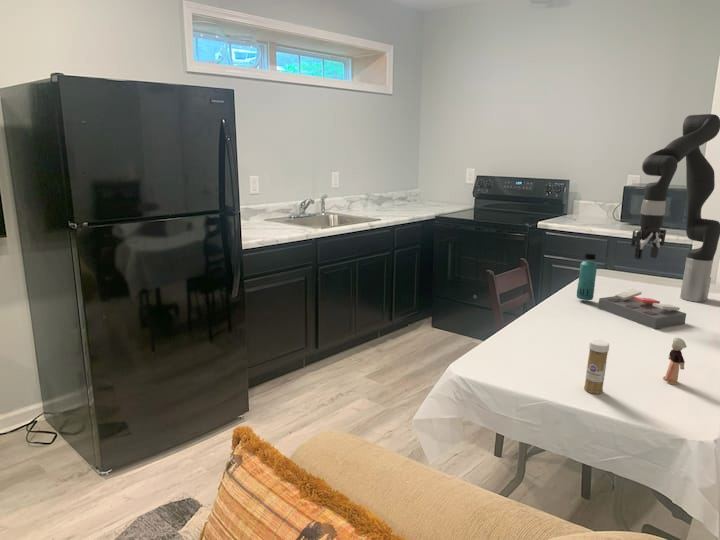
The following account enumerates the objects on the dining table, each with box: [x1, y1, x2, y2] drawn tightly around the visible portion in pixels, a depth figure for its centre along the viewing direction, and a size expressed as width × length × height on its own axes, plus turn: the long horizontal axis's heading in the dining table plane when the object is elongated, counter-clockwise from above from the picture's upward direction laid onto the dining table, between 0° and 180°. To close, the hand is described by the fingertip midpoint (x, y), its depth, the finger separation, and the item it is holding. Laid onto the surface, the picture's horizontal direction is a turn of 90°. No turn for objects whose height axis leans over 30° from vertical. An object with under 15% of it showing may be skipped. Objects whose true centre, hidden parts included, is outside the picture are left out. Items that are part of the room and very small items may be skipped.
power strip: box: [597, 295, 687, 330], centre depth 199 cm, size 15×25×4 cm, turn 23°
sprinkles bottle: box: [583, 339, 610, 395], centre depth 138 cm, size 5×5×13 cm
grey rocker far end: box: [652, 303, 681, 311], centre depth 192 cm, size 9×4×2 cm, turn 113°
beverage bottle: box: [576, 252, 598, 301], centre depth 213 cm, size 6×7×20 cm
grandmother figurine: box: [662, 337, 688, 386], centre depth 143 cm, size 8×4×13 cm, turn 5°
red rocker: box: [634, 296, 661, 305], centre depth 199 cm, size 9×4×2 cm, turn 113°
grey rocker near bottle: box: [614, 288, 642, 300], centre depth 206 cm, size 9×4×2 cm, turn 113°
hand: (645, 258), depth 194 cm, fingers open, 7 cm apart
